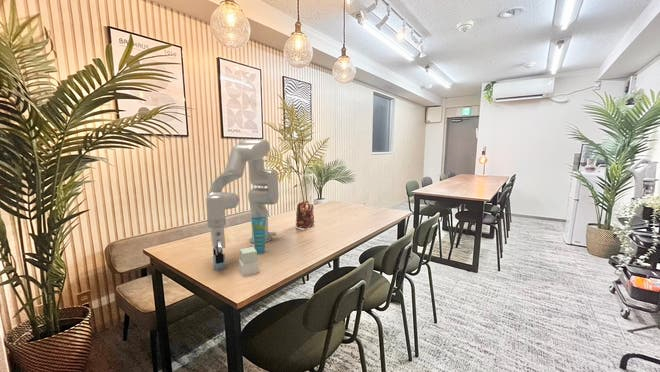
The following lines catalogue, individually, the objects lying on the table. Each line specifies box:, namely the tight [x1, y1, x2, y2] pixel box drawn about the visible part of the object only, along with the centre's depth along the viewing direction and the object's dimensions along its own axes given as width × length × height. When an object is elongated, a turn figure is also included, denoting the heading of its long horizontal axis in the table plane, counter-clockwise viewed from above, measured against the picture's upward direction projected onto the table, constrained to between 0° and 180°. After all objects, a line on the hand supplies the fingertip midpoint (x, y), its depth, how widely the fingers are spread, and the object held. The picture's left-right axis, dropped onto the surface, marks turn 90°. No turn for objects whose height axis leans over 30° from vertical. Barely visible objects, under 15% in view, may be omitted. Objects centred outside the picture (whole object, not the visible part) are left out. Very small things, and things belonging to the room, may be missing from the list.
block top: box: [239, 246, 258, 265], centre depth 120 cm, size 6×6×5 cm
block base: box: [238, 259, 260, 277], centre depth 121 cm, size 7×7×5 cm
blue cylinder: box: [212, 253, 227, 271], centre depth 124 cm, size 5×5×6 cm
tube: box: [250, 216, 266, 255], centre depth 142 cm, size 7×5×19 cm, turn 103°
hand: (218, 259), depth 123 cm, fingers open, 9 cm apart
